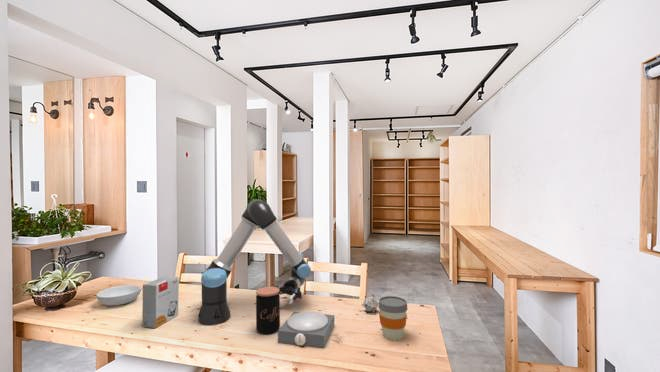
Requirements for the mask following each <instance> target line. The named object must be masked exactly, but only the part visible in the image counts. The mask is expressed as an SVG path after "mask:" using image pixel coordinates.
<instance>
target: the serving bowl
mask: <svg viewBox="0 0 660 372" xmlns="http://www.w3.org/2000/svg"><path fill="white" fill-rule="evenodd" d="M141 291H142V286H140V285H136V284H126V285H125V284H124V285H118V286H113V287H108V288H105V289H102V290H100V291H99V292H97V293H96V299H97V301H98V302H99V304H101V305H105V306H113V305H115V306H121V305H120V304H122V305H125V304H127V303H130V302H132V301H134V300H136V299H137V298H138V297H139V295H140V294H141ZM124 303H125V304H124Z"/></svg>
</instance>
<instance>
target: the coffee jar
mask: <svg viewBox="0 0 660 372" xmlns="http://www.w3.org/2000/svg"><path fill="white" fill-rule="evenodd" d="M279 288H280V287H278V288H277V287H276V286H263V287H260V288H257V289H256V291H255V294H256V295H255V316H256V317H255V319H256V320H255V323H256V324H255V325H256V327H255V329H256V331H257V332H258V334H261V335H272V334H274V333H276V332H278V330H279V329H280V328H281V316H280V315H281V313H280V312H281V308H280V307H281V304H280V302H281V301H280V298H281V297H280V294H279V292H280V290H279Z"/></svg>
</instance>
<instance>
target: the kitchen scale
mask: <svg viewBox="0 0 660 372" xmlns="http://www.w3.org/2000/svg"><path fill="white" fill-rule="evenodd" d="M334 328H335V315H334V314H326V313H325V314H324V313H321V312H318V311H293V312H292V313H291V314H290V316H289V317H288V318H287V319H286V320H285V322H284V323H283V324H282V325H280V327H279V329H278V331H277V343H281V344H287V345H295V346H297V345H298V346H305V347H312V348H320V349H321V348H322V349H324V348H325V347H326V345H327V342H329V341H328V340H329V338H330V336H331V334H332V332H333V329H334Z"/></svg>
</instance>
